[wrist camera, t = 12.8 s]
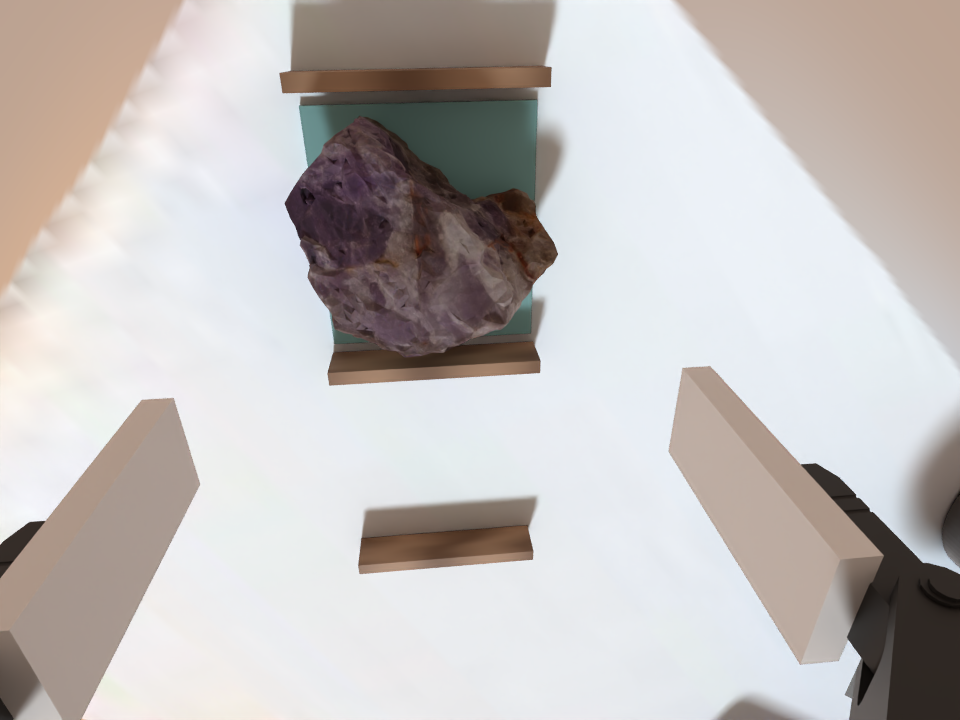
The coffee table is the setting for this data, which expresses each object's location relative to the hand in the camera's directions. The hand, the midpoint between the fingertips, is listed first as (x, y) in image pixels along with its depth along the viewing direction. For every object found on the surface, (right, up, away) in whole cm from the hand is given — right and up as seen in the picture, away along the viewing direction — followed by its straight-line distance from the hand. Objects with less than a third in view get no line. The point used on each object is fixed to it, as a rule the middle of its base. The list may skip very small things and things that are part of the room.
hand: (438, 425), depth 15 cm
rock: (-2, +9, +16) cm, 19 cm away
